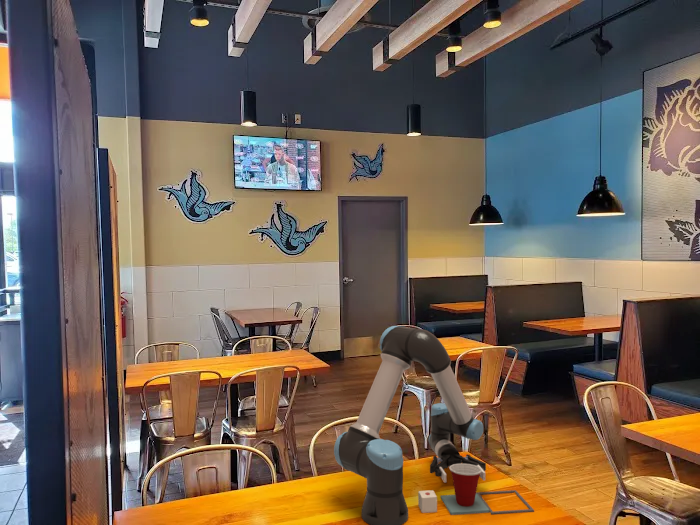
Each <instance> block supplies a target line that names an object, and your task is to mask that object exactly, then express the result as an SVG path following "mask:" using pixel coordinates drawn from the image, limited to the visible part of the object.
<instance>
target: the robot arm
mask: <svg viewBox="0 0 700 525" xmlns="http://www.w3.org/2000/svg"><path fill="white" fill-rule="evenodd" d="M379 349H380V351H381V352H380V358H381V363H380V365H379V369H378V370H377V373H376V374H375V377H374V380H373V382H372V385H371V387H370V389H369V390H368V394H367V396H366V398H365V401H364V402H363V406H362V409H361V411H360V413H359V415H358V417H357V420H356V422H355V423H353V424H351V425H349V427H348V430H347V431H345V432H342V433H341V434H339V436H337V438H336V440H335V442H334V446H333V456H334V458H335V461H336V463H337V464H338V465H340V467H342V468H344V469H345V470H346V471H349V472H352V473H354V474H355V475H358V476H360V477H362V478H365V479H366V494H365V496H364V497H365V498H364V499H363V503H362V505H361V518H362V520H363V521H364V522H365V523H367V524H368V525H403V524H405V523H406V522H407V521H408V519H409V509H408V508H409V507H408V505H407V502H406V499H405V495H404V492H403V491H404V488H403V487H404V486H403V485H404V484H403V483H404V458H403V450H402V448H401V446H400V445H399V444H398V443H396V442H394V441H392V440H389V439H384V438H381V437H380V434H379V433H380V430H381V429H382V426H383V423H384V420H385V418H386V416H387V413H388V411H389V409H390V406H391V404H392V401H393V398H394V397H395V395H396V392H397V389H398V387H399V384H400V382H401V380H402V376H403V374H404V372H405V370H409V369H410V368H411V366H412V363H413V362H418V363H420V364H421V365H422V366H423V367H424V369H425V371H426V373H428V374H430V375H431V377H432V379H433V382H434V383H435V386H436V388H437V390H438V392H439V394H440V396H441V399H442V401H443V403H441V402H438V403H434V404H432V405H431V409H430V410H431V411H430V434H429V436H428V444H429V446H430V448H431V449H432V451H433V452H434V453H435V455H434V456H433V457H432V461H431V463H430V465H429V473H430V474H435V476H436V477H440V478H441V480H442V481H443V483H447V473H446V472H445V469H448V468H450V466H451V465H453V464H471V465H476V466H478V467H480V468H481V469H482V472H481V474H480V477H479V478H481V479H482V481H486V470H487V463H486V462H483V461H482V460H479V459H478V458H475V457H473V456H471V455H470V454H465V456H462V455H461V454H460V452H459V450H458V449H457V447H456V446H455V445H454V444H453V442H452V441H451V434H454V435H457V436H460V437H462V438H466V440H467V439H468V440H472V441H478V440H479V439H480V438H482V436H483V433H484V424H483V422H482V421H481V420H478V419H477V418H474V416H473V414H472V411H471V410H470V407H469V405H468V402H467V400H466V398H465V396H464V394H463V392H462V389H461V387H460V385H459V382H458V380H457V378H456V375H455V373H454V372H453V369H452V367H451V364H452V360H451V358H450V355H449V353H448V351H447V349H446V348H445V346H444V345H443V343H442V342H441V340H439V339H438V338H437V337H436V335H434V334H433V333H432V332H431V331H428V330H426V329H423V328H422V329H421V328H415V327H409V326H405V325H392V326H389V327H387V328H386V329H385V330H384V331H383V332H382V335H381V336H380V339H379Z"/></svg>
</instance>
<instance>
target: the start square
mask: <svg viewBox="0 0 700 525" xmlns="http://www.w3.org/2000/svg"><path fill="white" fill-rule="evenodd" d="M514 492H515V493H516V494H515V493H514ZM476 493H477V494H478V496H479V497H480V498H481V500H482V501H483V502H484V504H485V505H486V506H487V508H488V509H489V514H490V515H501V514H502V515H503V514H505V515H506V514H517V513H521V514H522V513H534V512H535V509H534V508H533V507H532V506H531V505H530V504H529V503H528V502H527V500H526V499H524V497H523V496H522V495H521V494H520V493H519V492H518V491H517V490H515V489H514V490H513V489H512V490H496V491H483V492H482V491H479V492H477V491H476ZM512 493H513V494H515V495H516V496H517V498H518V499H520V500H521V502H522V503H523V504H524V505H525V506H526V507H527V508H528V509H526V508H525V509H516V510H515V509H514V510H497V511H493V510H492V509H491V507H490V506H489V505H488V503H487V502H486V501H485V499H484V498H483V496H484V495H500V494H512ZM482 495H483V496H482Z"/></svg>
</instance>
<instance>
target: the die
mask: <svg viewBox="0 0 700 525" xmlns="http://www.w3.org/2000/svg"><path fill="white" fill-rule="evenodd" d="M417 491H418V490H417ZM417 493H418V494H417V495H418V497H417V498H418V504H417V505H418V507H419V510H420V512H421V513H423V514H425V513H437V512H438V496H437V495H436V493H435V491H434V490H433V489H432V490H430V489H429V490H419V491H418V492H417Z"/></svg>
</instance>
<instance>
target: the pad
mask: <svg viewBox="0 0 700 525" xmlns="http://www.w3.org/2000/svg"><path fill="white" fill-rule="evenodd" d="M440 499H441V501H442V502H443V504H444V505H445V507H446V509H447V511H448V512H449V514H450V515H451V516H455V515H473V514H485V513H486V514H487V513H488V514H490V512H489V509H488V508H487V506H486V505H485V504H484V502H483V501H482V500H481V498H480V497H479V496H478V494H477V492H476V495H475V501H474V504H473V505H472V506H467V507H466V506H461V505H459V504H458V503H457V501H456V496H455V494H446V495H444V494H443V495H440Z"/></svg>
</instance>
